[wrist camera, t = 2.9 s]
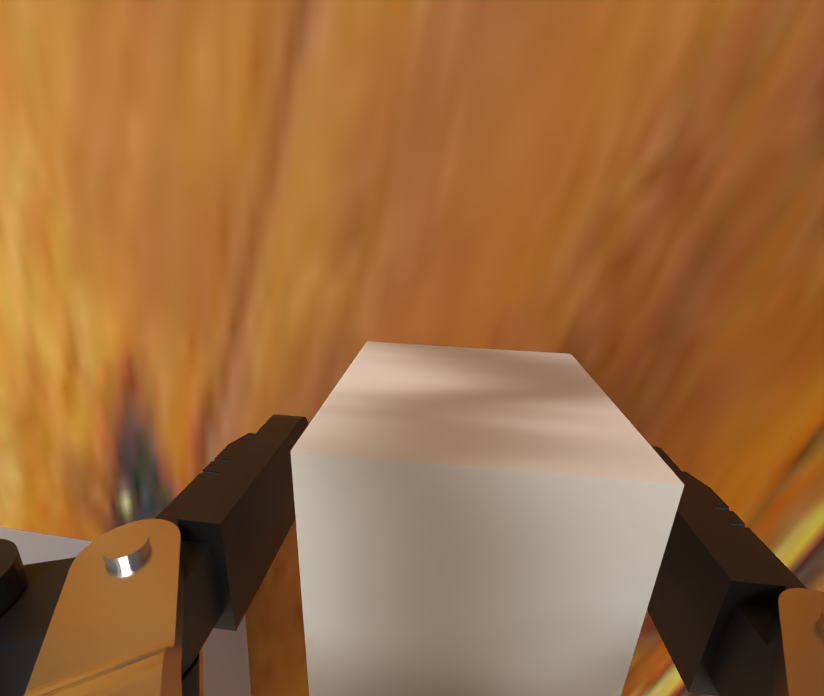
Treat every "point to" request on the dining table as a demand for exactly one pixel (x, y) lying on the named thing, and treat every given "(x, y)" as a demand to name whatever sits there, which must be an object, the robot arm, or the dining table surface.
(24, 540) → the slate block
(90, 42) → the dining table surface
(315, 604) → the cream cube
